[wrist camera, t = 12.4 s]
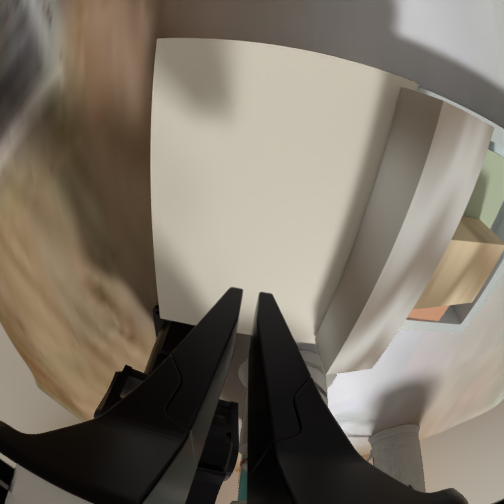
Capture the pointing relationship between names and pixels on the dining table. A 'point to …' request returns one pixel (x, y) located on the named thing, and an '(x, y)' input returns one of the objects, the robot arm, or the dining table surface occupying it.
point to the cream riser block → (261, 174)
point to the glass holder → (399, 454)
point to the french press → (316, 373)
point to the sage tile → (487, 190)
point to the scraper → (412, 233)
